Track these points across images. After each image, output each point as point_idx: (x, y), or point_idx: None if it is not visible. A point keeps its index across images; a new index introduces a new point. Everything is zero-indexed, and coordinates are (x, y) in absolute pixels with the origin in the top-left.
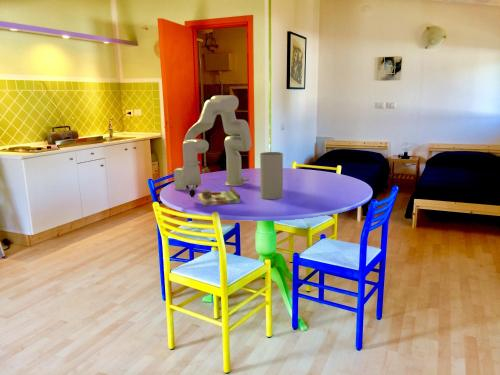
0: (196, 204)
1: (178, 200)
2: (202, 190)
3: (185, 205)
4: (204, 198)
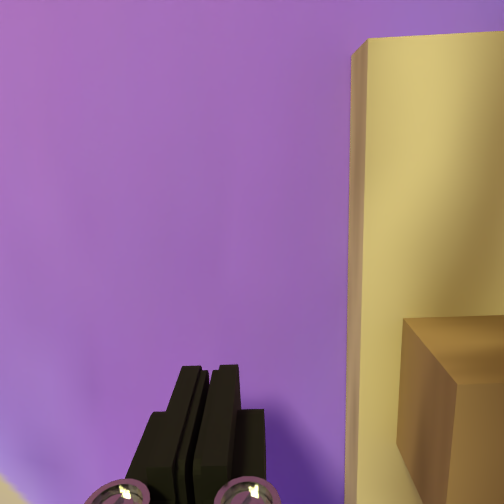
0: None
1: (3, 198)
2: (473, 385)
3: None
4: None
